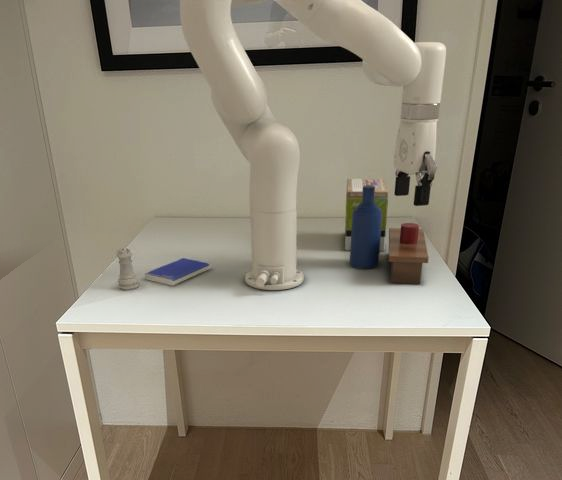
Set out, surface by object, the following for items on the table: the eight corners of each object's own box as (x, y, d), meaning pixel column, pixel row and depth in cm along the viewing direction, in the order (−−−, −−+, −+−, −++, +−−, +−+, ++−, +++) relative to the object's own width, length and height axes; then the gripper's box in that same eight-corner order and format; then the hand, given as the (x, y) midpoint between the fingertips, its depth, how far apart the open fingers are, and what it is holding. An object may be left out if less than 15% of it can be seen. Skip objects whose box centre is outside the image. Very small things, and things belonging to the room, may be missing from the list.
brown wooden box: (425, 286, 122) (428, 257, 119) (386, 284, 123) (388, 256, 120) (420, 254, 141) (423, 229, 138) (387, 253, 142) (389, 227, 139)
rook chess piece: (144, 285, 124) (139, 249, 120) (128, 292, 121) (122, 254, 117) (129, 281, 126) (124, 245, 122) (113, 287, 123) (107, 251, 119)
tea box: (344, 234, 157) (346, 177, 150) (381, 234, 156) (386, 177, 149) (344, 251, 144) (346, 189, 136) (385, 251, 143) (390, 190, 136)
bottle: (378, 269, 132) (384, 190, 123) (348, 268, 133) (352, 189, 124) (378, 260, 137) (384, 183, 129) (350, 259, 138) (354, 183, 130)
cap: (417, 239, 130) (419, 223, 128) (416, 244, 127) (418, 227, 125) (400, 238, 131) (402, 222, 129) (398, 243, 128) (400, 226, 126)
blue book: (173, 279, 123) (209, 263, 132) (144, 272, 126) (182, 257, 136) (173, 286, 123) (210, 269, 132) (145, 279, 127) (182, 263, 136)
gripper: (385, 109, 123) (379, 192, 131) (421, 117, 108) (412, 210, 116) (418, 109, 124) (409, 191, 133) (458, 116, 110) (446, 208, 118)
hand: (410, 200), depth 125 cm, fingers open, 9 cm apart
